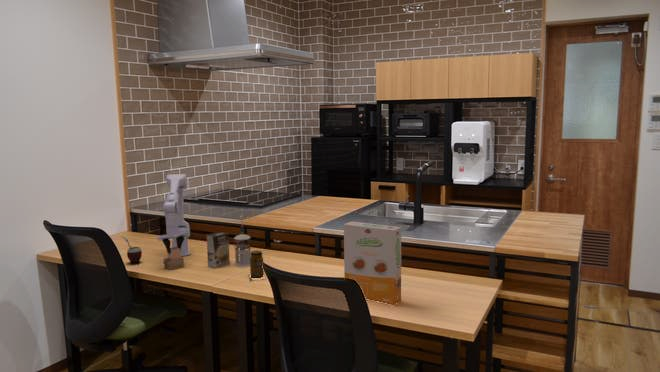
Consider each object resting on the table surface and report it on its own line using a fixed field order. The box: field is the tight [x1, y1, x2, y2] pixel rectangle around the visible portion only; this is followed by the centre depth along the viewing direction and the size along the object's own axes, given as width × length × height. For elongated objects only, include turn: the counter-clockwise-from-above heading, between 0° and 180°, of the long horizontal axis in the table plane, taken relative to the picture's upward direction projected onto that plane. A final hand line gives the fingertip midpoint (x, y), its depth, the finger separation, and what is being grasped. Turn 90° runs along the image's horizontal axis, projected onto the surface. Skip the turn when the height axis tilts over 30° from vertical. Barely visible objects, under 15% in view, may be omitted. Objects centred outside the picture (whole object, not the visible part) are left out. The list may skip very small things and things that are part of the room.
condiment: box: [248, 250, 265, 281], centre depth 236 cm, size 7×8×12 cm
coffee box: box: [206, 231, 231, 269], centre depth 257 cm, size 9×6×16 cm
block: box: [167, 247, 182, 260], centre depth 255 cm, size 4×4×5 cm
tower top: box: [162, 257, 185, 266], centre depth 255 cm, size 7×7×2 cm
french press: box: [233, 215, 252, 268], centre depth 258 cm, size 10×12×25 cm
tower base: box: [163, 263, 185, 271], centre depth 255 cm, size 7×7×2 cm
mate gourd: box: [121, 235, 143, 266], centre depth 263 cm, size 8×8×15 cm
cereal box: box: [343, 221, 402, 306], centre depth 206 cm, size 22×6×30 cm, turn 56°
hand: (174, 252), depth 255 cm, fingers closed on block, 4 cm apart
